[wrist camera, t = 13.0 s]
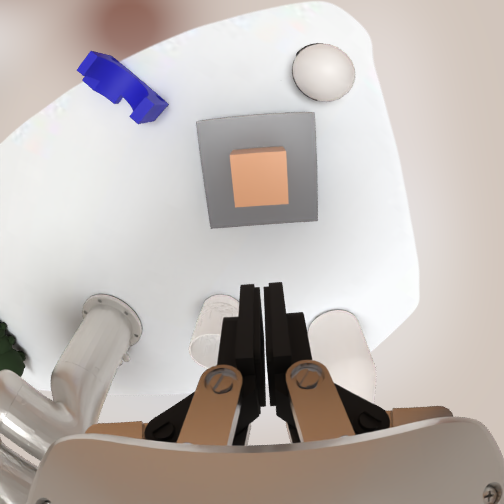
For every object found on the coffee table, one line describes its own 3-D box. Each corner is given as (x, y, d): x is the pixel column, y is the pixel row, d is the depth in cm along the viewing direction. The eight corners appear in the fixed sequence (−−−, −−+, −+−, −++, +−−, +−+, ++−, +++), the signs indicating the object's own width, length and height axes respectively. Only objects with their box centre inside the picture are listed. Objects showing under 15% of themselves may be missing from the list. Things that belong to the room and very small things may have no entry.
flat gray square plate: (313, 212, 40) (317, 220, 38) (213, 220, 41) (210, 228, 39) (310, 112, 34) (314, 112, 31) (200, 120, 35) (196, 121, 32)
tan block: (283, 187, 39) (288, 203, 33) (238, 190, 39) (235, 207, 33) (280, 143, 36) (286, 151, 30) (234, 146, 36) (229, 155, 30)
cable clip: (92, 80, 31) (70, 79, 26) (112, 55, 30) (90, 50, 25) (147, 129, 35) (130, 133, 30) (169, 104, 34) (154, 104, 28)
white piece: (341, 48, 30) (359, 37, 23) (347, 101, 33) (367, 101, 26) (264, 51, 30) (265, 39, 24) (271, 105, 34) (275, 104, 27)
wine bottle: (331, 299, 47) (379, 470, 21) (367, 320, 50) (421, 469, 23) (296, 334, 51) (315, 496, 25) (333, 352, 54) (363, 495, 27)
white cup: (253, 318, 49) (253, 362, 41) (214, 332, 51) (207, 375, 42) (231, 284, 46) (226, 327, 37) (190, 300, 48) (177, 343, 39)
